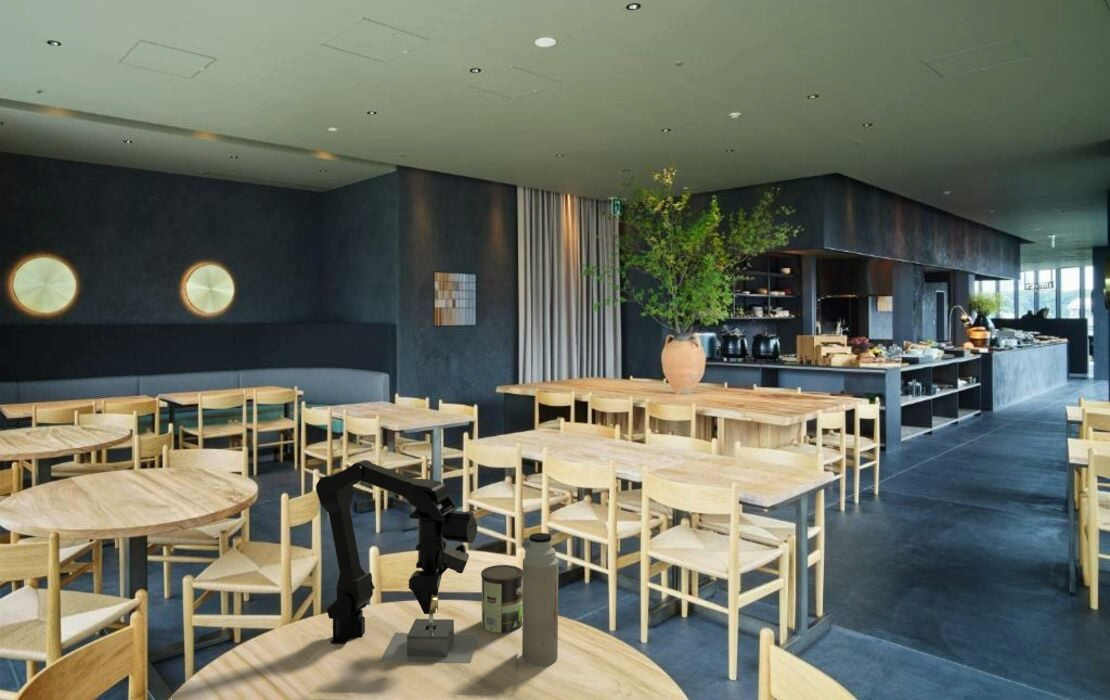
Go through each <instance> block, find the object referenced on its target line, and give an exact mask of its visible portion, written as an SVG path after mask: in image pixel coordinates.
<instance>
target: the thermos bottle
mask: <svg viewBox="0 0 1110 700" xmlns="http://www.w3.org/2000/svg"><path fill="white" fill-rule="evenodd" d="M524 556H525V557H524V558H523V559H522V570H523V589H522V625H523V628H521V629H522V630H521V632H522V635H521V636H522V637H521V638H522V640H521V641H522V642H521V643H522V644H521V645H522V647H521V649H522V652H521V656H522V660H523V662H524V663H525V664H527V665H530V666H535V667H545V666H550V665H553V664H554V663H555V662H557V661H558V658H559V657H558V651H559V650H558V649H559V647H558V645H559V644H558V643H559V642H558V641H559V639H558V638H559V559H558V558H557V557H556V556H557V553H556V549H555V548H554V547H552V535H551V534H550V533H547V532H535V533H531V534H530V535H529V547H527V548H526V550H525V555H524Z"/></svg>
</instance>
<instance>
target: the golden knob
mask: <svg viewBox="0 0 1110 700" xmlns="http://www.w3.org/2000/svg"><path fill="white" fill-rule="evenodd" d="M438 612H439V596H438V595H437V596H435V595H433V596H432V601H431V607H430V612H429V614H428V619H429V628H427V629H426V630H436V628H433V619H434V614H436V613H438Z"/></svg>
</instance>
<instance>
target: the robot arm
mask: <svg viewBox="0 0 1110 700" xmlns="http://www.w3.org/2000/svg"><path fill="white" fill-rule="evenodd" d="M361 481H362V482H364V483H367V484H369V485H371V486H375V487H376V488H377V487H378V489H379V488H380V489H382V490H385V491H388V492H389V493H393V494H395V495H398V496H401V497H402V498H404V499H405V500H406V501H407V503H408V504H410V505H411V506H413V507H414V508H415V509H414V511H412V513H410V514H409V516H408V517H409V518H410V519H414V520H417V521H418V522H417V524H418V526H417V527H418V528H417V530H418V531H417V535H418V537H417V538H418V539H417V540H418V541H417V543H416V546H415V550H416V551H417V561H416V564H415V568H416V569H421V570H415V571H414V572H413V573H412V574H411V575H410V577H409V579H408V589H409V590H410V591H411V592H412V593H413V595H414V596H415V599H416V600H417V602H418V605H419V607H420V608H421V610H422V612H423V614H424V615H429V612H430V607H431V601H432V596H433V595H435V596H437V597H438V593H439V589H440V586H441V585H440V584H441V580H442V575H443V574H444V573H445V572H446V571H447V570H448V569H449V570H452V571H454V572H456V574H463V573H464V570H465V569H466V566H467V563H468V560H469V558H470V555H469V552H467V549H466V544H473V542H474V541H475V539H476V536H477V533H478V523H477V520H476V518H475V516H474V512H473V511H469V510H466V511H460V510H457V509H458V508H457V506H456V504H455V502H454V501H453V500H452V498H451V496H450V495H449V493H448V490H447V488H446V484H445V483H443V482H441V481H440V480H435V479H429V478H428V479H427V478H415V477H410V476H407V475H405V474H402V473H400V472H397V471H394V470H392V469H389V468H387V467H383V466H380V465H378V464H375V463H373V462H371V461H370V460H367V459H364V460H360V461H357V462H355V463H353V464H352V465H351V466H349V467H347V468H346V469H343V470H340V471H339V470H338V471H337V472H334V473H330V474H327V475H326V476H322V477H320V479H318V481H317V482H316V484H315V491H316V495H317V497H318V500H319V503H320V505H321V506H322V508H323V509H324V510H325V511H326V512H327V514H328V517H329V524H330V530H331V533H332V539H333V540H332V541H333V545H334V548H335V555H336V559H337V560H336V561H337V566H338V572H339V574H338V575H339V576H338V579H337V582H336V588H335V594H336V600H335V601H334V602H333V603H331V605H329V607H327V609H326V613H327V616H328V618H329V620H331V619H332V638H330V639H331V640H330V642H329V643H330V644H340V645H346V644H347V643H348V641H350V640H352V639H355V638H357V639H359V638H363V636H364V634H365V633H366V618H365V616H363V613H364V612H363V609H364V608H366V607H367V604H368V602H369V601H370V600H371V599H372V597H373V595H374V589H376V587H375V585H374V583H373V574H372V572H366V571H364V570H363V568H362V566H361V563H360V562H361V561H360V556H359V551H358V546H357V539H356V536H355V530H354V525H353V524H354V523H353V519H352V513H351V504H352V501H353V497H354V486H355V485H356V484H357V483H359V482H361ZM440 506H442V507H441V508H439V507H440ZM447 541H448V542H455V543H457V542H458V543H459V544H457V546H455V547H453V546H452V547H449V546H447V545H448V544H447ZM462 543H464V544H462Z"/></svg>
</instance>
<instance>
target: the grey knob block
mask: <svg viewBox="0 0 1110 700" xmlns="http://www.w3.org/2000/svg"><path fill="white" fill-rule="evenodd" d="M410 627H411V628H410V629H409V632H407V633H408V635H407V656H414V657H448V654H449V651H450V648H451V645H452V643H453V640H454V634H455V619H446V618H445V619H443V618H441V619H440V618H438V619H437V618H433V628H436V630H426V629H427V628H429V618H415V619H414V621H413V622H412V625H411V626H410Z"/></svg>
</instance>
